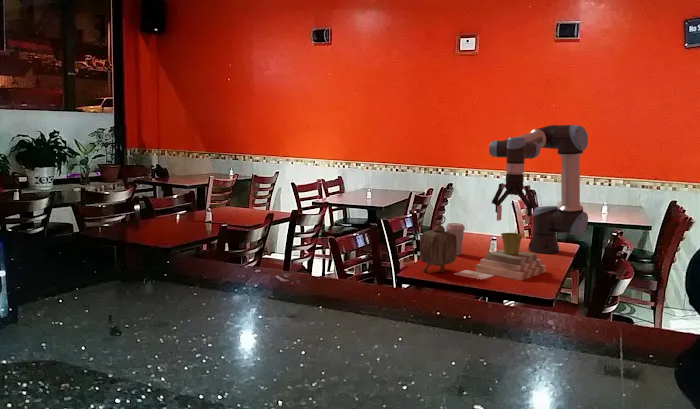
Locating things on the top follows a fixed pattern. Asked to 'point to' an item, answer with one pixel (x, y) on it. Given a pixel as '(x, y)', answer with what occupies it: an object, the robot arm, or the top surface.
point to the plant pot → (511, 243)
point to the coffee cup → (457, 234)
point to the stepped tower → (511, 265)
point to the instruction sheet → (473, 274)
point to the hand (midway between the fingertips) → (512, 222)
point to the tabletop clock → (438, 246)
